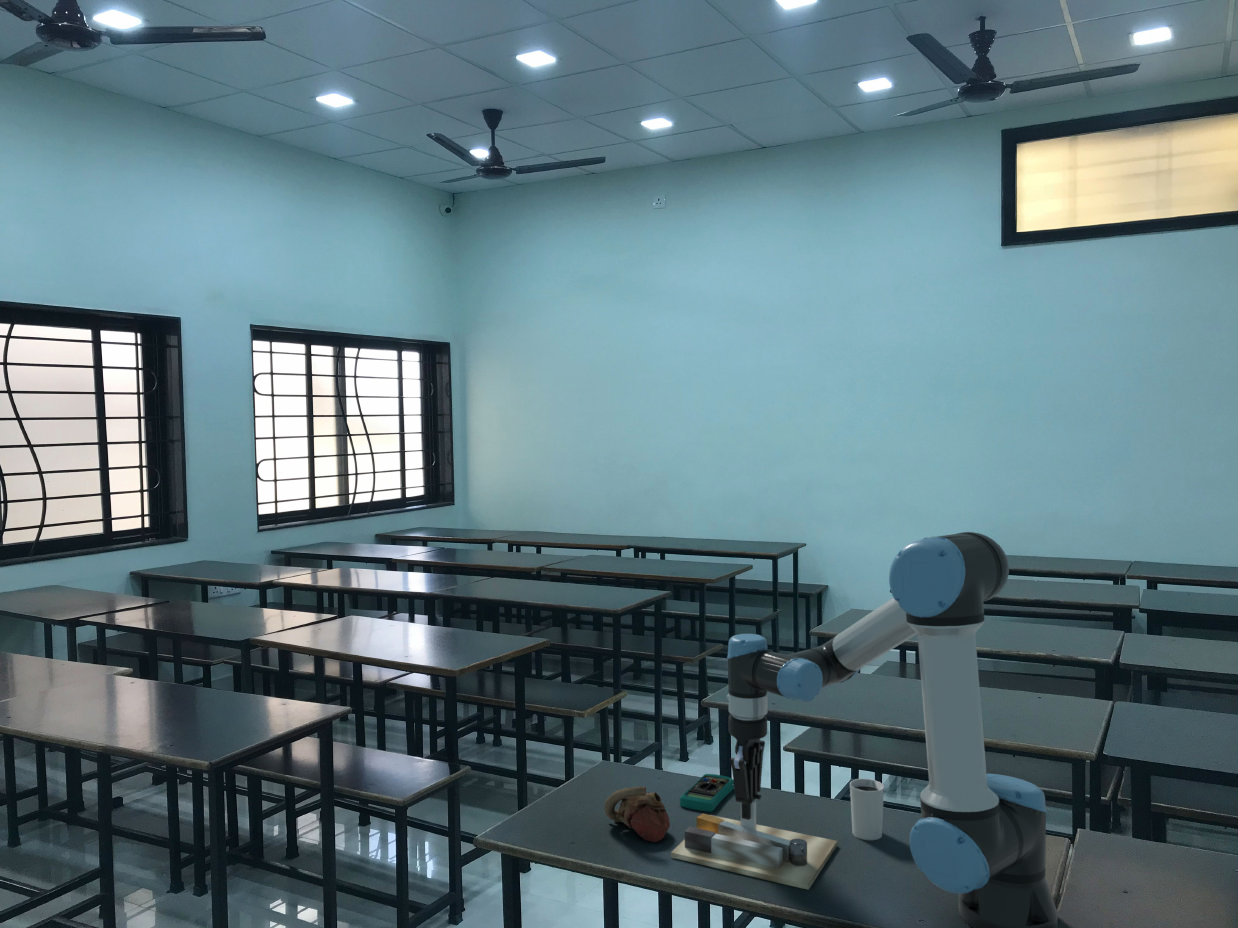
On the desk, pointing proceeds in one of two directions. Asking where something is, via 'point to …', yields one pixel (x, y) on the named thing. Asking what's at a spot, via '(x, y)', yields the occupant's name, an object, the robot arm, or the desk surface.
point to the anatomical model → (639, 812)
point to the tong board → (766, 872)
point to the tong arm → (756, 838)
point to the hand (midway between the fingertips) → (748, 832)
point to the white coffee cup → (867, 808)
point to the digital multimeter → (707, 792)
